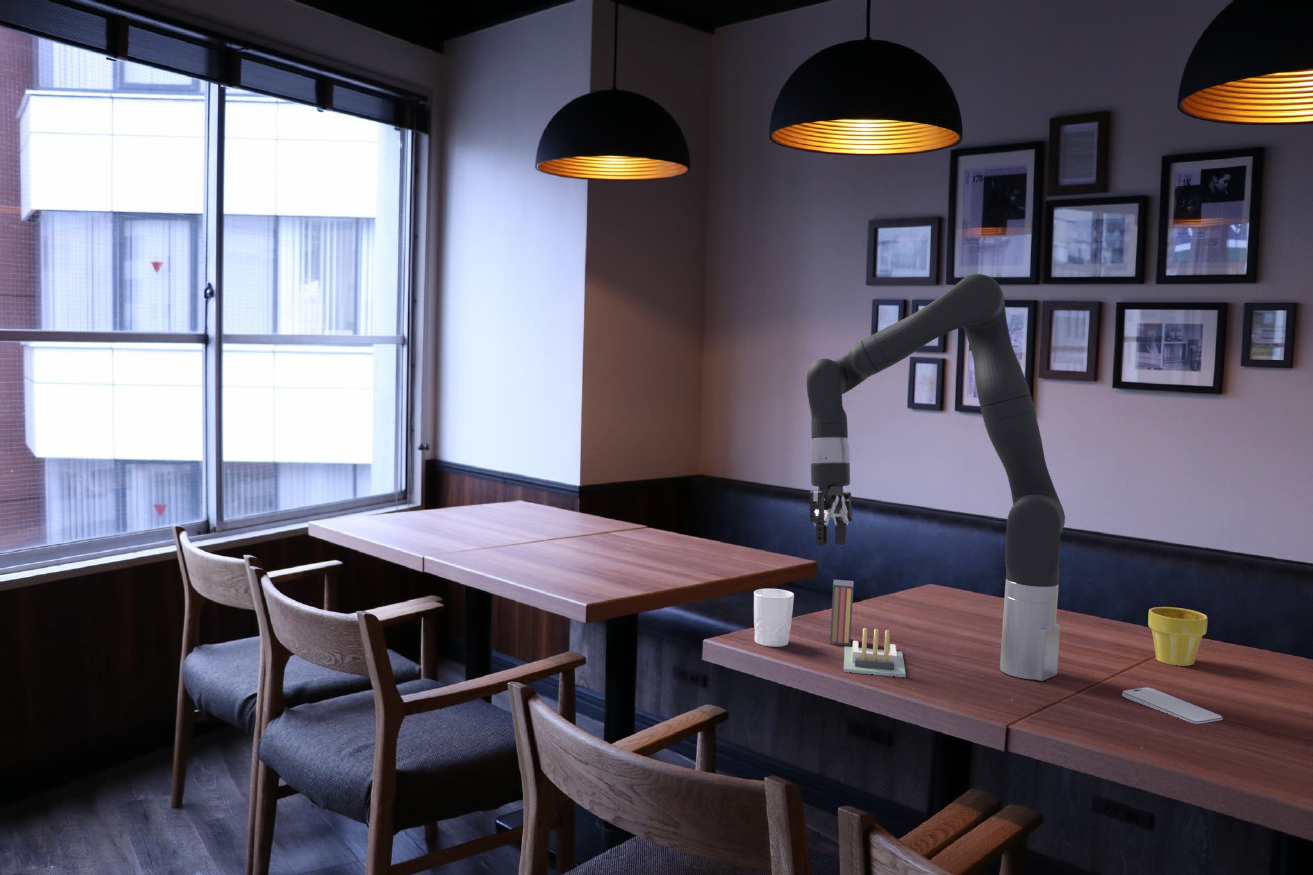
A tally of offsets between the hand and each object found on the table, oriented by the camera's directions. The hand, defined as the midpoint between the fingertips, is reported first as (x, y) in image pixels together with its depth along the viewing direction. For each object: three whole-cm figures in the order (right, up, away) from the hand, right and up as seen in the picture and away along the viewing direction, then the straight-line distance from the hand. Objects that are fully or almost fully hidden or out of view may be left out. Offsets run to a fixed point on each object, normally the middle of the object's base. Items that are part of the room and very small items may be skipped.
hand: (832, 545), depth 201 cm
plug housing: (+3, -20, +8) cm, 22 cm away
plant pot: (+68, -24, +3) cm, 72 cm away
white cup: (-11, -20, +5) cm, 24 cm away
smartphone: (+53, -26, -25) cm, 64 cm away
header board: (+7, -22, -6) cm, 23 cm away
